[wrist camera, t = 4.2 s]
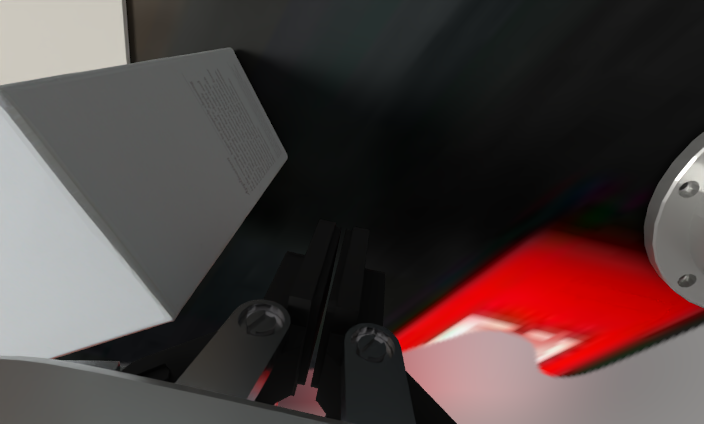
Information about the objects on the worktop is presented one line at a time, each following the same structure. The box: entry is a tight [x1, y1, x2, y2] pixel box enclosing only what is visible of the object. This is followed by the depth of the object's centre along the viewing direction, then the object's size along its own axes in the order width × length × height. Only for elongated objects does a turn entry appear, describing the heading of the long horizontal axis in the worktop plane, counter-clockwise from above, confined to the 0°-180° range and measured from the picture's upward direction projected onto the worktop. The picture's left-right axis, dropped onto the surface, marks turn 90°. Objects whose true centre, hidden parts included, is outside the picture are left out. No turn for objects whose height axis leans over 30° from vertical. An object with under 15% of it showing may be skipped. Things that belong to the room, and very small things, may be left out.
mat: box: [0, 0, 130, 85], centre depth 21 cm, size 14×20×1 cm
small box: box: [0, 47, 288, 359], centre depth 15 cm, size 8×6×13 cm
